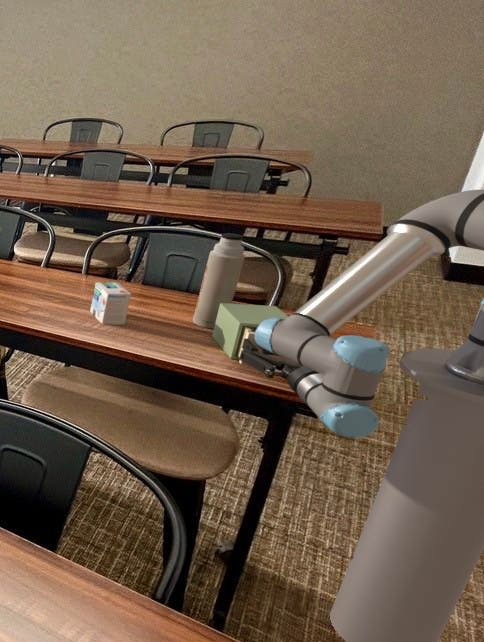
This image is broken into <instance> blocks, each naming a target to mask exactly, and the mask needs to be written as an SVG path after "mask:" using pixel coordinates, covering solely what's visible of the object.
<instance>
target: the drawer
mask: <svg viewBox="0 0 484 642" xmlns="http://www.w3.org/2000/svg"><path fill="white" fill-rule="evenodd" d="M257 328H258V327H251V326H243V327H242V331H241V335H240V339H239V343H238V346H237V350H236V354H237V355H238V356H239V358H240V354H241V351H242V350H243V349H242V345H243V341H244V338H246V339H249V340H250V341H251V342H252V343H253V344H254V346H255V347H256V348H257V349H258V352H260V353H263V354H265V355H268V356H270V357H273V358H275V359H278V360H280V361H281V360H286V361H288V362H291V363H293V364H299V363H296V362H294V361H291V360H289V359H287V358H284V357H282V356H279V355H275V354H274V353H272V352H270V351H268V350H266V349H264V348H262V347H260V346H259V345H258V344H257V343H256V341H255V332H256V329H257ZM238 363H239V364H240V365H248V364H246V363H244V362H242V361H241V360H239V361H238ZM248 366H249V365H248ZM286 366H287V365H285V367H286Z"/></svg>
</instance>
